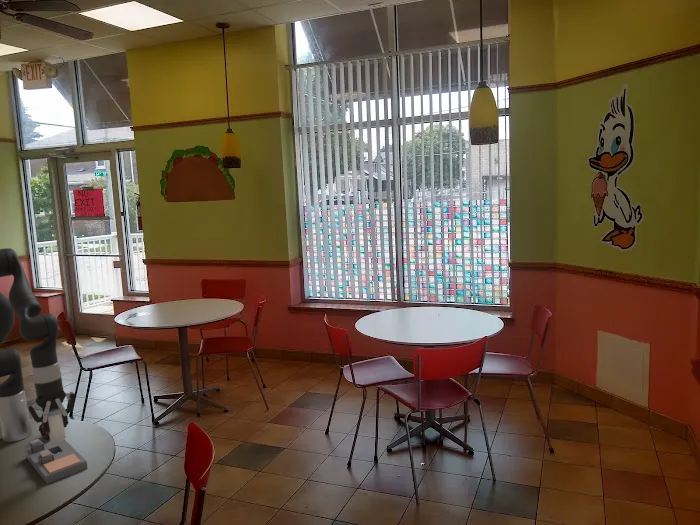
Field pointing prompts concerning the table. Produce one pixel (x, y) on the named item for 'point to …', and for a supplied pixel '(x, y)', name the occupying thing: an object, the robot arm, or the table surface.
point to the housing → (56, 460)
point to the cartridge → (56, 425)
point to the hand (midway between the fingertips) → (56, 429)
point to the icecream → (43, 431)
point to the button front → (45, 453)
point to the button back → (35, 442)
